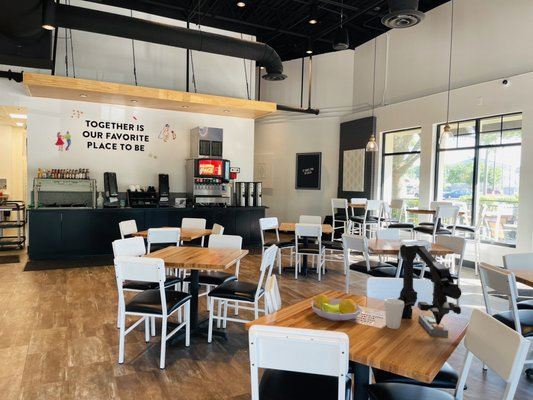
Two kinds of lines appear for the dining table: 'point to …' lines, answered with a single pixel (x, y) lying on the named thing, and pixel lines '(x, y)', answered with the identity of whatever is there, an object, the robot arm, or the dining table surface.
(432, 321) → the sage button
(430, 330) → the button panel
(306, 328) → the dining table surface
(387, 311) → the foam cup
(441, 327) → the terracotta button
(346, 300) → the fruit bowl
